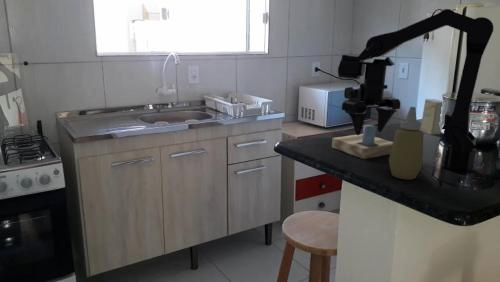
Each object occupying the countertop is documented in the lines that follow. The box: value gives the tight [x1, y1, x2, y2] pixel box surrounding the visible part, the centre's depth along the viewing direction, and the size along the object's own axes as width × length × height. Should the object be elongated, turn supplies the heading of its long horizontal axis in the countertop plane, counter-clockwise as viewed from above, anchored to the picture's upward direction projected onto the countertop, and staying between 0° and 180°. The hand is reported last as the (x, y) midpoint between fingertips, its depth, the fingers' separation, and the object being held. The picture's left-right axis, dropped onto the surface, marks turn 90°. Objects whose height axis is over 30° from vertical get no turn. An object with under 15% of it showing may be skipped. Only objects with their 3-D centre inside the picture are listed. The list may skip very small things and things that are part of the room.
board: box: [331, 133, 393, 160], centre depth 129 cm, size 14×14×3 cm
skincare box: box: [419, 98, 443, 136], centre depth 153 cm, size 6×4×12 cm
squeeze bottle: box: [388, 106, 424, 181], centre depth 104 cm, size 8×8×18 cm
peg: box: [362, 124, 377, 147], centre depth 124 cm, size 4×4×8 cm
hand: (368, 133), depth 124 cm, fingers open, 9 cm apart
